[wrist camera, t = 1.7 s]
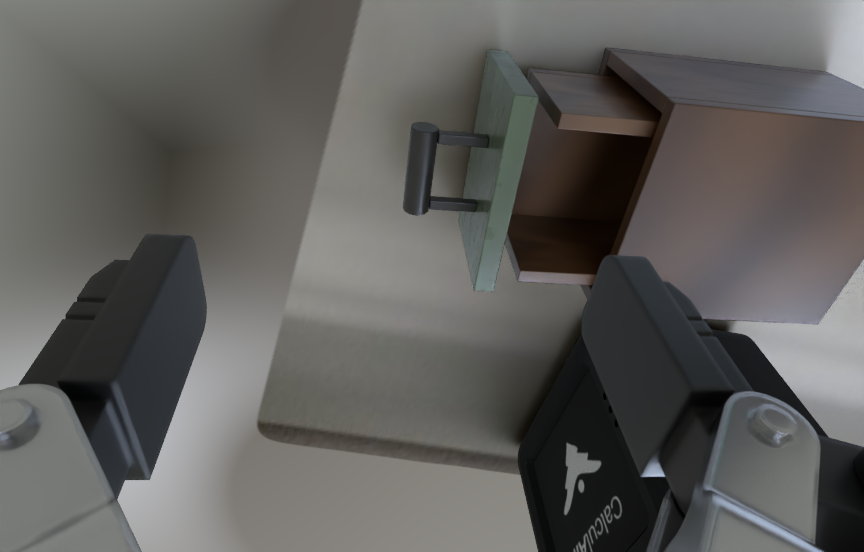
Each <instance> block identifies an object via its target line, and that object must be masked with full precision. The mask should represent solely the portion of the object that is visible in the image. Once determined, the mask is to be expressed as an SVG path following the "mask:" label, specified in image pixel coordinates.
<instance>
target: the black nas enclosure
mask: <svg viewBox="0 0 864 552" xmlns="http://www.w3.org/2000/svg"><path fill="white" fill-rule="evenodd" d="M711 330H712V329H711ZM712 332H713V337H717V339H718V340H719V342H720V343H721V344H722V346H723V347H724V349H725V350H726V352H727V353H728V355H729V356H730V357H731V359H732V360H733V362H734V363H735V365H736V366H737V368H738V369H739V370H740V372H741V373H742V375H743V376H744V378H745V379H746V380H747V382H748V383H749V385H750V386H751V388H752V389H753V391H754V392H758V393H763V394H766V395H769V396H772V397H774V398H776V399H778V400H780V401H782V402H784V403H786V404H788V405H789V406H791V407H792V408H794V409H795V410H796V411H798V412H799V413H800V414H801V415H802V416H803V417H804V418H805V419H806V420H807V421H808V422H809V423H810V424H811V426H812V427H813V429H814V430H815V432H816V434H817V435H821V436H824V437H828V436H827V435H826V433H825V432H824V431H823V430H822V428H821V427H820V426H819V424H818V423H817V422H816V421H815V419H814V418H813V417H812V415H811V414H810V413H809V412H808V410H807V409H806V408H805V407H804V405H803V404H802V403H801V401H800V400H799V399H798V398H797V396H796V395H795V394H794V392H793V391H792V390H791V389H790V387H789V386H788V385H787V383H786V382H785V381H784V380H783V378H782V377H781V376H780V375H779V373H778V372H777V371H776V369H775V368H774V367H773V366H772V364H771V363H770V362H769V360H768V359H767V358H766V357H765V355H764V354H763V353H762V352H761V350H760V349H759V348H758V346H757V345H756V344H755V343H754V341H753V340H752V339H751V338H749V337H748V336H746V335H743V334H737V333H731V332H725V331H719V330H712ZM828 438H829V437H828ZM518 466H519V470H520V475H521V478H522V483H523V488H524V492H525V496H526V501H527V505H528V509H529V514H530V518H531V522H532V527H533V531H534V535H535V539H536V544H537V548H538V552H646V551H647V548H648V545H649V542H650V539H651V536H652V533H653V529H654V526H655V523H656V520H657V517H658V514H659V511H660V508H661V505H662V502H663V498H664V496H665V494H666V493H667V491H668V490H669V488H670V486H669V483H668V481H667V479H666V477H640V474H639V472H638V469H637V467H636V465H635V462H634V460H633V457H632V455H631V453H630V450H629V448H628V446H627V443H626V441H625V438H624V436H623V434H622V431H621V429H620V426H619V424H618V422H617V419H616V417H615V414H614V412H613V410H612V407H611V405H610V403H609V400H608V398H607V395H606V393H605V391H604V388H603V386H602V383H601V381H600V379H599V376H598V374H597V372H596V369H595V367H594V364H593V362H592V360H591V357H590V355H589V352H588V350H587V348H586V345H585V343H584V340H583V336H582V333H581V335H580V337H579V339H578V340H577V342H576V344H575V346H574V348H573V349H572V351H571V353H570V355H569V357H568V359H567V360H566V362H565V364H564V366H563V368H562V370H561V371H560V373H559V375H558V377H557V379H556V380H555V382H554V384H553V386H552V388H551V390H550V391H549V393H548V395H547V397H546V399H545V401H544V402H543V404H542V406H541V408H540V410H539V411H538V413H537V415H536V417H535V419H534V421H533V422H532V424H531V426H530V428H529V430H528V431H527V433H526V435H525V437H524V439H523V441H522V443H521V445H520V448H519V452H518Z"/></svg>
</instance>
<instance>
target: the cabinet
mask: <svg viewBox="0 0 864 552" xmlns="http://www.w3.org/2000/svg"><path fill="white" fill-rule="evenodd" d="M598 75H601V76H611V77H620V78H622V79H624V80H625V81H626V82H627V83H628V84H629V85H630V86H632V87H633V88H634V89H635V90H636V91H637V92H638V93H640V94H641V95H642V96H643V97H644V98H645V99H646V100H648V101H649V102H650V103H651V104H652V105H653V106H654V107H656V108H657V109H658V110H659V111H660V112H661V113H662V116H661V119H660V122H659V124H658V127H657V130H656V132H655V135H654V138H653V140H652V143H651V146H650V148H649V151H648V154H647V156H646V159H645V162H644V164H643V167H642V170H641V172H640V175H639V178H638V181H637V183H636V186H635V189H634V191H633V194H632V197H631V199H630V202H629V205H628V207H627V210H626V213H625V215H624V218H623V221H622V223H621V226H620V229H619V231H618V234H617V237H616V239H615V242H614V245H613V248H612V250H611V253H610V255H622V256H644V257H646V258H647V259H648V260H649V261H650V263H651V264H652V266H653V267H654V269H655V270H656V272H657V273H658V275H659V276H660V278H661V279H662V281H664V282H670V283H671V284H672V285H673V286H675V287H676V288H677V289H678V290H680V291H681V292H682V293H683V294H685V295H686V296H687V297H688V298H690V300H691V301H692V303H693V304H694V306H695V307H696V309H697V310H698V311H699V313H700V314H701V316H702V319H710V320H732V321H755V322H777V323H799V324H818V323H819V322H820V321H821V319H822V318H823V316H824V315H825V313H826V312H827V311H828V309H829V308H830V306H831V305H832V304H833V302H834V301H835V299H836V298H837V296H838V295H839V294H840V292H841V291H842V289H843V288H844V287H845V285H846V284H847V282H848V281H849V279H850V278H851V277H852V275H853V274H854V272H855V271H856V270H857V268H858V267H859V265H860V264H861V262H862V261H863V260H864V89H863V88H861V87H859V86H856V85H854V84H852V83H850V82H848V81H845V80H843V79H841V78H839V77H837V76H835V75H832V74H830V73H828V72H822V71H813V70H804V69H795V68H786V67H777V66H768V65H759V64H750V63H741V62H732V61H723V60H714V59H705V58H696V57H687V56H678V55H669V54H660V53H651V52H642V51H633V50H624V49H615V48H606V50H605V53H604V57H603V60H602V64H601V67H600V71H599V74H598ZM592 286H593V285H581V287H582V289H583V292H584V294H585V296H586V298H587V300H588V297H589V294H590V291H591V289H592Z"/></svg>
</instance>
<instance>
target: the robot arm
mask: <svg viewBox="0 0 864 552" xmlns="http://www.w3.org/2000/svg"><path fill="white" fill-rule="evenodd" d="M206 309H207V306H206V297H205V291H204V286H203V282H202V275H201V270H200V265H199V260H198V254H197V249H196V245H195V242H194V239H193V238H192V237H191V236H184V235H159V234H147V235H145V237H144V238H143V239H142V241H141V242H140V244H139V246H138V247H137V249H136V251H135V252H134V254H133V256H132V258H131V259H130V260H114V261H113V262H112V263H110V264H109V265H107V266H106V267H104V268H103V269H102V270H100V271H99V272H98V273H96V274H95V275H93V276H92V277H91V278H90V279H89V281H88V282H87V284H86V285H85V287H84V288H83V290H82V291H81V293H80V294H79V296H78V297H77V302H74V303H73V305H72V306H71V308H70V309H69V311H68V312H67V313H66V319H63V320H62V321H61V323H60V324H59V325H58V327H57V328H56V330H55V331H54V333H53V334H52V336H51V337H50V339H49V340H48V342H47V343H46V345H45V346H44V348H43V349H42V351H41V352H40V354H39V355H38V357H37V358H36V360H35V361H34V363H33V364H32V365H31V367H30V368H29V370H28V371H27V373H26V374H25V376H24V377H23V379H22V380H21V382H20V383H19V385H18V386H14V387H9V388H6V389H3V390H0V552H142V551H141V549H140V547H139V545H138V543H137V541H136V538H135V536H134V534H133V532H132V530H131V528H130V526H129V524H128V521H127V519H126V517H125V515H124V513H123V511H122V509H121V507H120V505H119V503H118V501H117V498H118V496H119V493H120V491H121V488H122V486H123V483H124V481H125V480H150V477H151V475H152V472H153V469H154V467H155V464H156V461H157V458H158V456H159V453H160V450H161V447H162V445H163V442H164V439H165V436H166V433H167V431H168V428H169V425H170V423H171V420H172V417H173V414H174V411H175V409H176V406H177V403H178V401H179V398H180V395H181V392H182V389H183V387H184V384H185V381H186V378H187V376H188V373H189V370H190V367H191V365H192V362H193V359H194V356H195V354H196V351H197V348H198V345H199V343H200V340H201V337H202V334H203V331H204V327H205V323H206V312H207V311H206ZM581 327H582V336H583V340H584V343H585V345H586V348H587V350H588V352H589V355H590V357H591V360H592V362H593V364H594V367H595V369H596V372H597V374H598V376H599V379H600V381H601V383H602V386H603V388H604V391H605V393H606V395H607V398H608V400H609V403H610V405H611V407H612V410H613V412H614V414H615V417H616V419H617V422H618V424H619V426H620V429H621V431H622V434H623V436H624V438H625V441H626V443H627V446H628V448H629V450H630V453H631V455H632V457H633V460H634V462H635V465H636V467H637V469H638V472H639V474H640V477H666V479H667V481H668V483H669V486H670V488H669V490H668V491H667V493H666V494H665V496H664V498H663V502H662V505H661V508H660V511H659V514H658V517H657V520H656V523H655V526H654V529H653V533H652V536H651V539H650V542H649V545H648V548H647V551H646V552H864V447H862V446H858V445H854V444H850V443H847V442H843V441H839V440H836V439H832V438H828V437H824V436H821V435H817V434H816V432H815V430H814V429H813V427H812V426H811V424H810V423H809V422H808V421H807V420H806V419H805V418H804V417H803V416H802V415H801V414H800V413H799V412H798V411H796V410H795V409H794V408H792V407H791V406H789V405H788V404H786V403H784V402H782V401H780V400H778V399H776V398H774V397H772V396H769V395H766V394H763V393H758V392H754V391H753V389H752V388H751V386H750V385H749V383H748V382H747V380H746V379H745V378H744V376H743V375H742V373H741V372H740V370H739V369H738V368H737V366H736V365H735V363H734V362H733V360H732V359H731V357H730V356H729V355H728V353H727V352H726V350H725V349H724V347H723V346H722V344H721V343H720V342H719V340H718V339H717V337H713V332H712V330H711V329H710V327H709V326H708V324H707V323H706V321H702V316H701V314H700V313H699V311H698V310H697V309H696V307H695V306H694V304H693V303H692V301H691V300H690V298H688V297H687V296H686V295H685V294H683V293H682V292H681V291H680V290H678V289H677V288H676V287H675V286H673V285H672V284H671V283H670V282H664V281H662V279H661V278H660V276H659V275H658V273H657V272H656V270H655V269H654V267H653V266H652V264H651V263H650V261H649V260H648V259H647V258H646V257H644V256H622V255H607V256H605V257H604V259H603V260H602V262H601V264H600V266H599V269H598V272H597V275H596V278H595V280H594V283H593V286H592V289H591V291H590V294H589V297H588V300H587V303H586V305H585V308H584V311H583V315H582V324H581Z"/></svg>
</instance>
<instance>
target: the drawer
mask: <svg viewBox="0 0 864 552" xmlns="http://www.w3.org/2000/svg"><path fill="white" fill-rule="evenodd" d="M661 116H662V113H661V112H660V111H659V110H658V109H657V108H656V107H654V106H653V105H652V104H651V103H650V102H649V101H648V100H646V99H645V98H644V97H643V96H642V95H641V94H640V93H638V92H637V91H636V90H635V89H634V88H633V87H632V86H630V85H629V84H628V83H627V82H626V81H625V80H624V79H622V78H620V77H611V76H601V75H592V74H582V73H572V72H563V71H553V70H543V69H534V68H529V69H528V74H527V78H525V76H524V75H523V74H522V72H521V71H520V69H519V68H518V66H517V65H516V63H515V62H514V60H513V59H512V57H511V56H510V55H509V53H508V52H506V51H497V50H488V51H487V57H486V63H485V69H484V75H483V81H482V87H481V93H480V98H479V104H478V110H477V116H476V122H475V128H474V133H465V132H454V131H442V130H439V128H438V127H437V126H436V125H434V124H431V123H427V122H417V123H413V124H412V125H411V131H410V141H409V151H408V161H407V171H406V181H405V191H404V201H403V209H404V211H405V212H407V213H409V214H412V215H424V214H426V213H427V212H428V210H429V209H433V210H448V211H460V216H459V225H460V230H461V234H462V239H463V244H464V248H465V253H466V257H467V262H468V267H469V271H470V276H471V281H472V285H473V290H474V291H488V292H493V291H494V287H495V283H496V278H497V274H498V270H499V265H500V261H501V257H502V253H503V248H504V244H505V245H506V248H507V251H508V254H509V257H510V260H511V263H512V266H513V269H514V272H515V275H516V278H517V281H518V282H537V283H557V284H576V285H593V283H594V280H595V278H596V275H597V272H598V269H599V266H600V264H601V262H602V260H603V259H604V257H605V256H607V255H610V253H611V250H612V248H613V245H614V242H615V239H616V237H617V234H618V231H619V229H620V226H621V223H622V221H623V218H624V215H625V213H626V210H627V207H628V205H629V202H630V199H631V197H632V194H633V191H634V189H635V186H636V183H637V181H638V178H639V175H640V172H641V170H642V167H643V164H644V162H645V159H646V156H647V154H648V151H649V148H650V146H651V143H652V140H653V138H654V135H655V132H656V130H657V127H658V124H659V122H660V119H661ZM437 142H438V144H443V145H455V146H467V147H471V151H470V157H469V163H468V169H467V175H466V181H465V187H464V193H463V198H449V197H435V196H430V195H431V187H432V179H433V172H434V164H435V157H436V149H437Z"/></svg>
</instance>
